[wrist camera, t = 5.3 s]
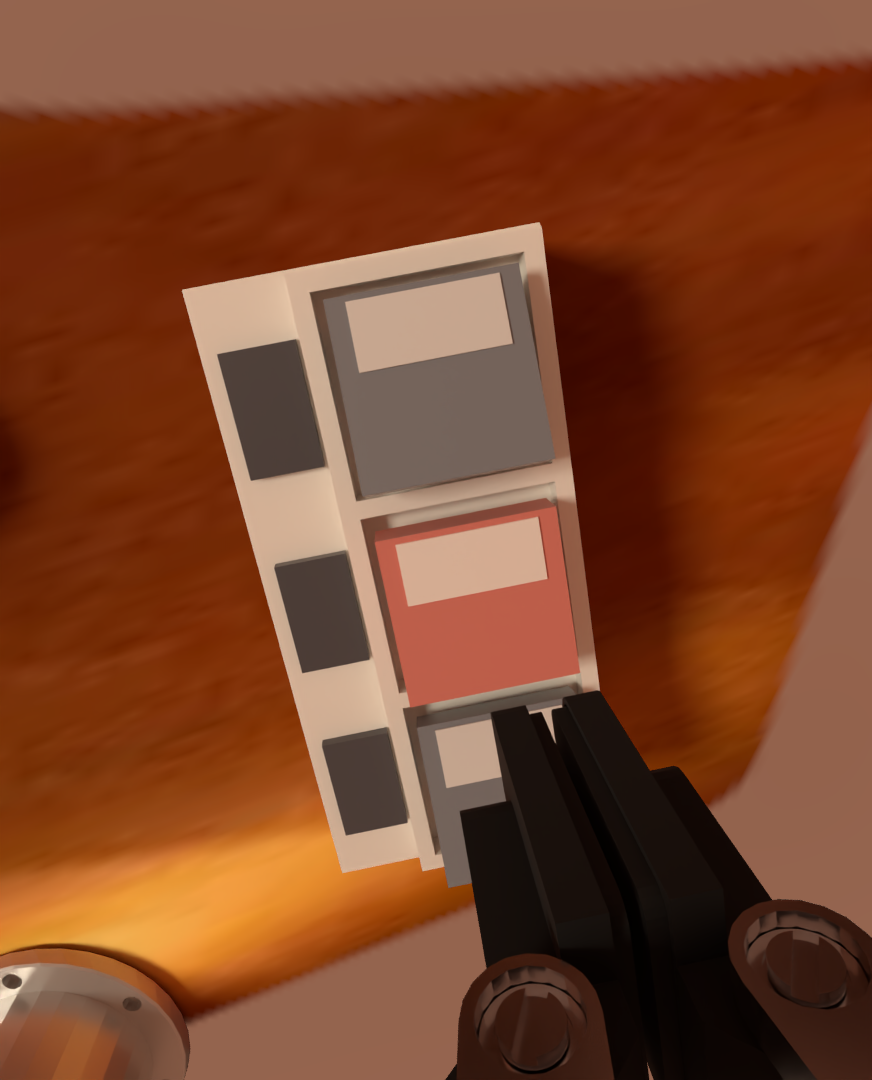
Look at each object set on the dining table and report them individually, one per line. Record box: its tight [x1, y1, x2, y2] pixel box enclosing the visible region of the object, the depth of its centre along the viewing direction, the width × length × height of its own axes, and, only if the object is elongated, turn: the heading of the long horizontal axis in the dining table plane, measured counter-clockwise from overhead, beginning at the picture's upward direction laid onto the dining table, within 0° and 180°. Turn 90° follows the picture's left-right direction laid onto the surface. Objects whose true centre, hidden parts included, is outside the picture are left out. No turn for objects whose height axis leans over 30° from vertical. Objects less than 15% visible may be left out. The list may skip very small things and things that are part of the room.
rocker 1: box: [323, 262, 555, 497], centre depth 20 cm, size 6×6×2 cm
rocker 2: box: [417, 686, 576, 888], centre depth 25 cm, size 6×6×2 cm
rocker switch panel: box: [182, 222, 600, 873], centre depth 26 cm, size 22×11×6 cm, turn 10°
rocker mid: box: [375, 498, 580, 708], centre depth 22 cm, size 6×6×2 cm
